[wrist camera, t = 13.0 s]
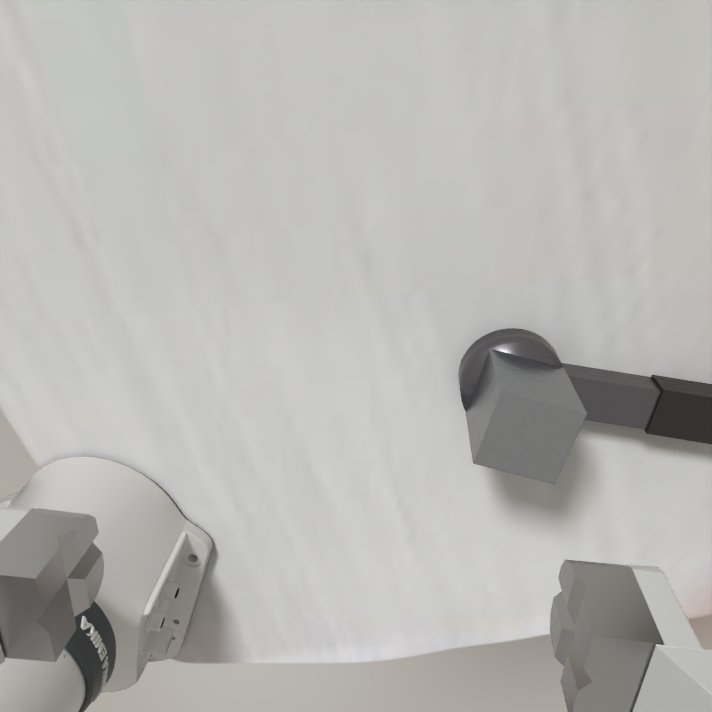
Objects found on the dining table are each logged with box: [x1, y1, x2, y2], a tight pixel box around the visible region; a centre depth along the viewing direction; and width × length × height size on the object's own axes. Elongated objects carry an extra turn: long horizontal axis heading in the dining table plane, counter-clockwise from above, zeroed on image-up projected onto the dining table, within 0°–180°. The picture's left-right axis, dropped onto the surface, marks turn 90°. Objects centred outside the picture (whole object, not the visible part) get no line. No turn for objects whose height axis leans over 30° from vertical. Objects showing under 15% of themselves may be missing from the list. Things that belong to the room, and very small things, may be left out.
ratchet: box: [459, 329, 712, 444], centre depth 40 cm, size 7×19×6 cm, turn 82°
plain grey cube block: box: [466, 348, 587, 484], centre depth 38 cm, size 5×5×6 cm
